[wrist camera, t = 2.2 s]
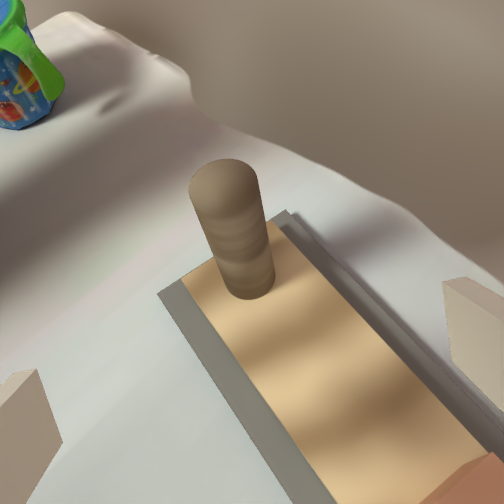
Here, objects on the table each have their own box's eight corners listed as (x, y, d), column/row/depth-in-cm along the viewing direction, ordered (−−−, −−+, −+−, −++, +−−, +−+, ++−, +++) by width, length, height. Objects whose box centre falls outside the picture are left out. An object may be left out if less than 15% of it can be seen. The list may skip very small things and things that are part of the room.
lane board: (160, 299, 34) (156, 293, 34) (286, 216, 37) (285, 209, 36) (480, 790, 20) (487, 802, 19) (654, 598, 22) (667, 601, 21)
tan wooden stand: (185, 286, 33) (129, 190, 24) (272, 228, 35) (253, 117, 25) (503, 740, 19) (675, 944, 10) (623, 609, 21) (869, 678, 12)
